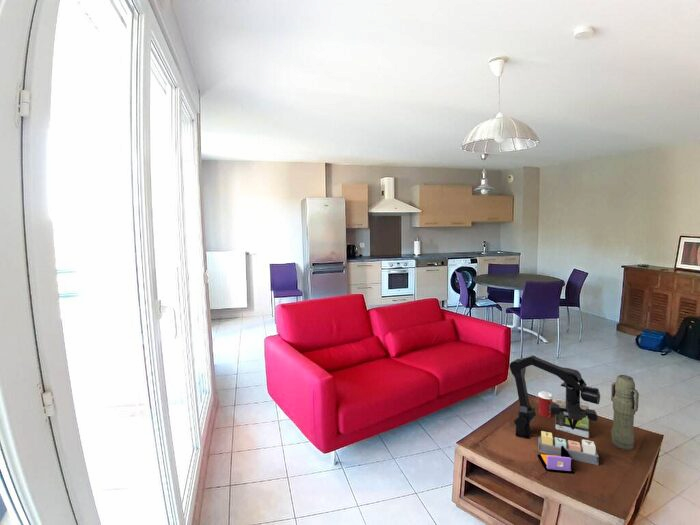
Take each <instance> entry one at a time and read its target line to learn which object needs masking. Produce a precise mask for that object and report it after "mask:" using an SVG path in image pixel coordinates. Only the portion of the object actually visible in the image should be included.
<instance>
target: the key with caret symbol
mask: <svg viewBox="0 0 700 525" xmlns="http://www.w3.org/2000/svg"><path fill="white" fill-rule="evenodd" d="M553 440H554V446H555V447H560V448H561V446H564V448H565V449H566V442H567V441H566V438H560V437H556V436H554V438H553Z"/></svg>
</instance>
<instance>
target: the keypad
mask: <svg viewBox="0 0 700 525" xmlns="http://www.w3.org/2000/svg"><path fill="white" fill-rule="evenodd" d="M537 439H538V444H537V445H538V452H540V453H544V454H545V455H555V456H561V448H560V447H555V446H554V439H553V445H552V446H551V445H546V444H542V443H541V436H540V435H539V436H538V438H537ZM580 447H581V452H578V451H574V450H569V449H568V441H566V450H567V452H568V453H569V455H570V456H571V457H572V461H573V460H574V461H576V462H577V461H578V462H582V463H587V464H592V465H595V466H599V461H600V460H599V458H600V456H599V454H598V452H597V449H596V450H595V455H592V454H588V453H583V451H582V444H580Z"/></svg>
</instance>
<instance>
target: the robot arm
mask: <svg viewBox="0 0 700 525" xmlns="http://www.w3.org/2000/svg"><path fill="white" fill-rule="evenodd" d="M530 366H533V367H536V368H538V369H541V370H543V371H545V372H547V373H550V374H552V375H554V376H556V377H558V378H559V379H560V380H561V381H563V382H562V383H561V384H560V387H564V388H565V399H566V408H561V407H559V404H556V403H553V402H552V403H551V404H550V413H551V415H556V414H557V415H558V414H560V412H563V414H564V417H566V418H567V419H568V421H569V423H570V426H571V429H572V430H574V428H575V426H576V424H577V422H578V421H579V420H582V418H586V416H587V418H588V419H589V421H594V422H598V420H599V418H598V414H597V412H596V410H595V409H591V408H589V409H585V410H584V409H581V408H580V402H581V400H583V401H584V402H586V403H587V402H588V403H591V404H596V405H599V404H600V402H601V394H600V391H599V388H597V387H592V386H587V383H586V382H585V380H584V378H583V377H582V374H581V372H580V371H579V370H578V369H574V368H570V367H562V366H559V365H557V364H554V363H552V362H549V361H547V360H545V359H542V358H540V357H537V356H536V355H533V354H532V355H530V356H527V357H524V358H516V359H514V360H513V361H511V362H510V363H509V369H510V372H511V374H512V375H513V377H514V380H515V386H516V392H517V396H518V402H519V409H518V416H517V417H516V418H515V419H514V420H513V423H514V425H515V437H518V438H522V439H528V440H529V439H530V437H531V431H532V430H531V428H532V427H531V426H530V424H531V423H532V422H533V420H535V418H536V416H537V414H536V408H535V406H534V407H532V406H531V404H530V400H529V394H528V389H527V384H526V378H525V377H526V376H525V375H526V370H527V368H528V367H530ZM572 419H573V423H572Z"/></svg>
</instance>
